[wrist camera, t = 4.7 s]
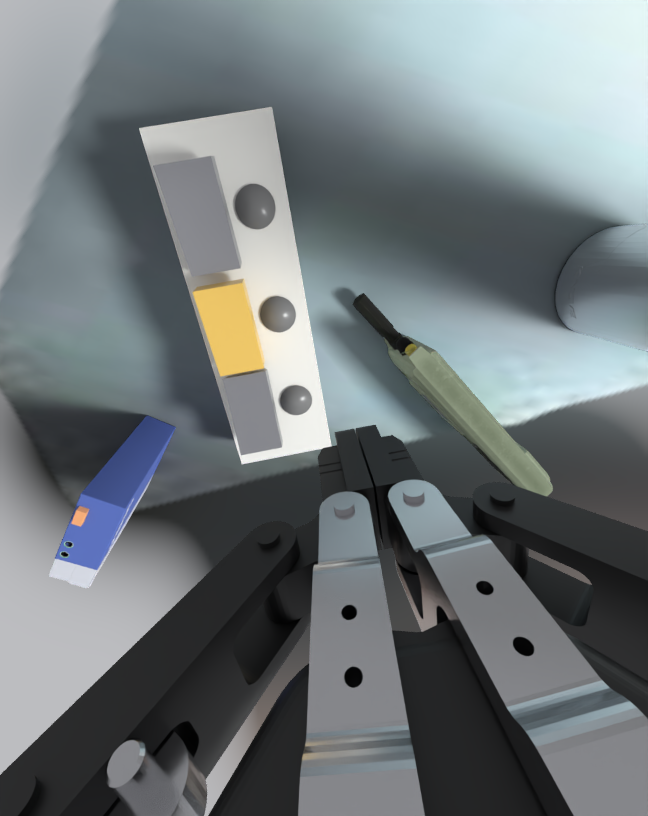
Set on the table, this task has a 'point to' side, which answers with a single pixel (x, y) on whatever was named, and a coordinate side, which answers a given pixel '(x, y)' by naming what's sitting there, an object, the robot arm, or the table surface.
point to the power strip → (256, 262)
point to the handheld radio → (457, 403)
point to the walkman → (110, 503)
